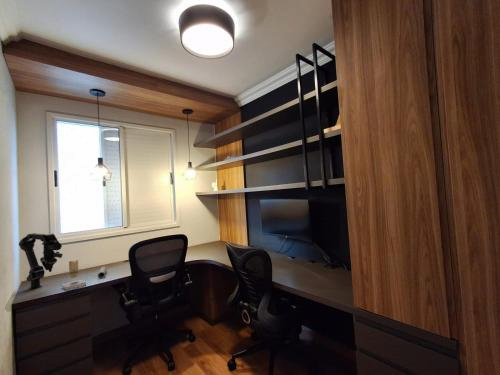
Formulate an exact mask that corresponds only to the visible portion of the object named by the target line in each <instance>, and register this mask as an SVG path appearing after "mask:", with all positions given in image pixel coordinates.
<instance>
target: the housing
mask: <svg viewBox="0 0 500 375" xmlns="http://www.w3.org/2000/svg"><path fill="white" fill-rule="evenodd" d="M85 285H86V286H87V282H86V281H84V280H83V279H78V280H73V281H70V282H66V283H62V284H61V288H62V289H63V290H65V289H66V290H65V291H67V290H68V291H71V290H70V289H72V290H74V289H73V288H75V289H77V287H79V288H82V287H85ZM81 286H82V287H81Z"/></svg>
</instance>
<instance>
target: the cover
mask: <svg viewBox="0 0 500 375" xmlns="http://www.w3.org/2000/svg"><path fill="white" fill-rule="evenodd" d="M79 274H80V271H79V259H75V260H74V259H73V260H70V261H68V273H67V275H68V276H70V278H71V279H74V278H77V277H78V275H79Z"/></svg>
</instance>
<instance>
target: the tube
mask: <svg viewBox="0 0 500 375" xmlns="http://www.w3.org/2000/svg"><path fill="white" fill-rule="evenodd" d="M106 273H107V267H106V266H102V267H101V268H99V271H98V273H97V278H98V279H104V277H106Z"/></svg>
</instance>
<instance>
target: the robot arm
mask: <svg viewBox="0 0 500 375" xmlns="http://www.w3.org/2000/svg"><path fill="white" fill-rule="evenodd" d="M37 240H38V241H40V242H42V243H41V245H42V246H43V251H42V254H43V256H41V258H39V259H40V260H39V261H40V263H41V265H40V264H39V262H38V258H37V257H36V254H35V250H34V247H35V243H36V241H37ZM18 247H20V250H22V251H23V252H24V253H25V256H26V259H27V262H28V265H29V267H30V269H29V271H28V275H27V277H26V281H27V282H30V286H29V287H28V288H29V289H30V290H34V289H38V288H41V287H43V285H41V279H43V278H44V277H45V273H46V272H45V271H48V272H49V273H52V270H53V268H54V265H55V264H56V263H57V262H58V258H59V259H62V257H63V255H64V254H63V253H60V250H61V249H62V248H63V246H62V243H61V242H60V240H58V238H57V237H56V235H55V234H54V233H53V232H52V233H36V232H33V233H28V234H26V236H24V237H23V238H21V239H20V240H19V243H18ZM55 251H56V252H55Z"/></svg>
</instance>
